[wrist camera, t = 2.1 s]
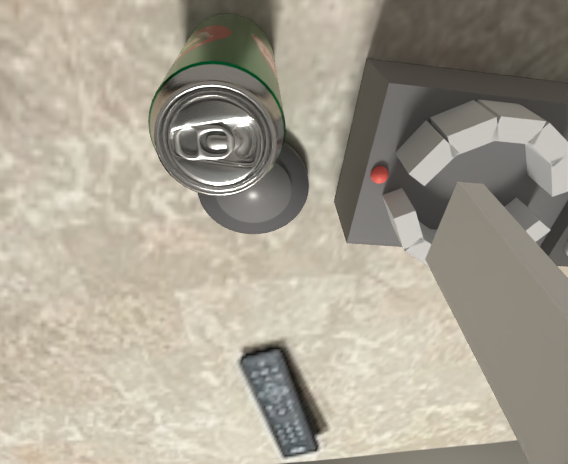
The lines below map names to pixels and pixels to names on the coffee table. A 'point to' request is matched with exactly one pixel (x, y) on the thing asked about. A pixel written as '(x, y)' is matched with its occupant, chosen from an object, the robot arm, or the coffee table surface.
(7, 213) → the coffee table surface
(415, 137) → the camera body
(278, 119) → the soda can
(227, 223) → the lens cap
